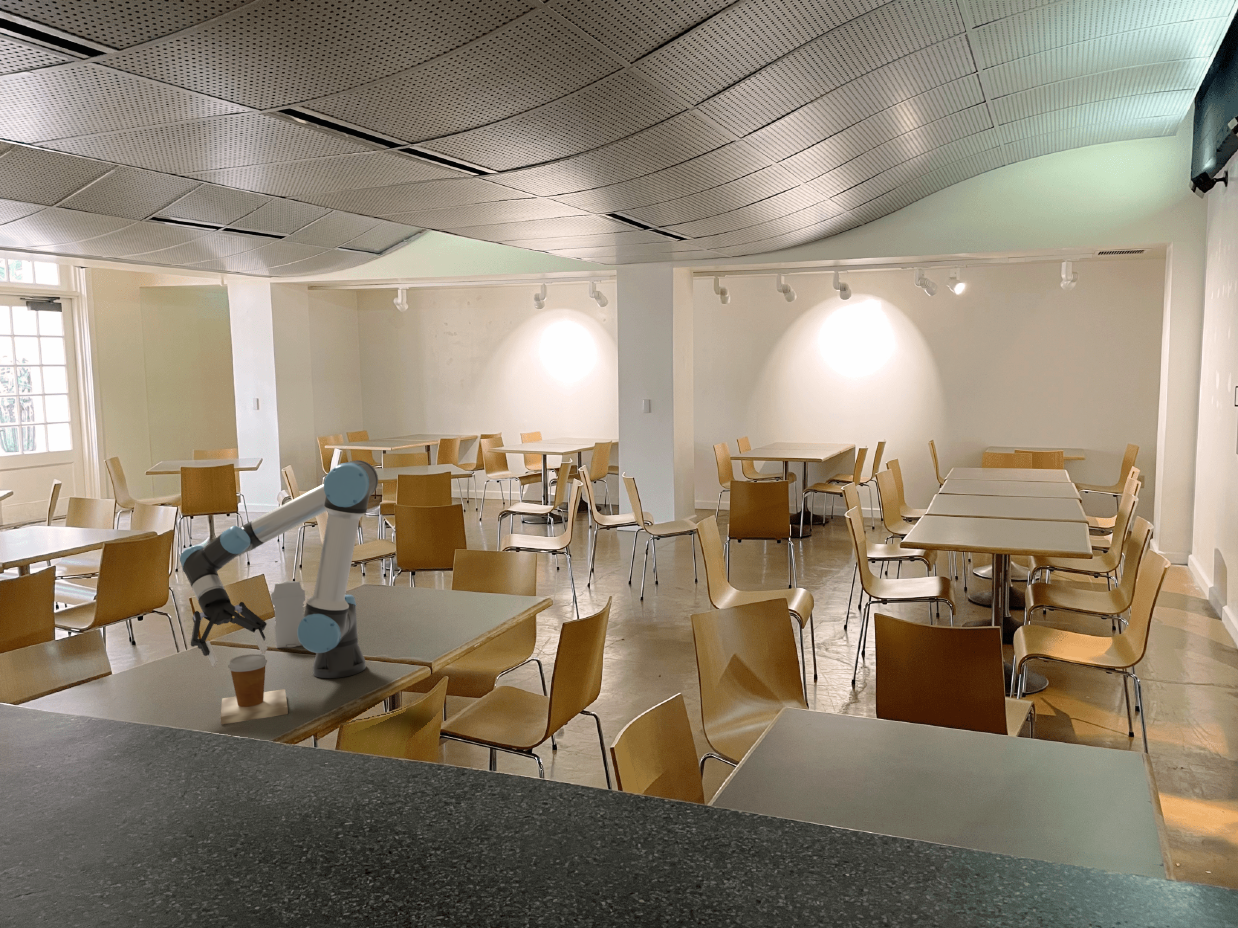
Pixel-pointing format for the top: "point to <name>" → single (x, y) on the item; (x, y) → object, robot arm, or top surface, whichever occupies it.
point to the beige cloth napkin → (254, 708)
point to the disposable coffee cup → (248, 679)
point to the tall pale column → (288, 612)
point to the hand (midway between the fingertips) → (240, 657)
